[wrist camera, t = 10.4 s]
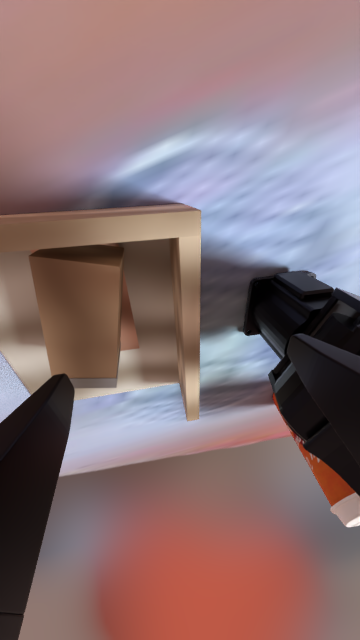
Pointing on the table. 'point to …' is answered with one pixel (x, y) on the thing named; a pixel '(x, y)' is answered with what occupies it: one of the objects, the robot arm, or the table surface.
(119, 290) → the walnut block
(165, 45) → the table surface
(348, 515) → the paper cup
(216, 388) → the table surface
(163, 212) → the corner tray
